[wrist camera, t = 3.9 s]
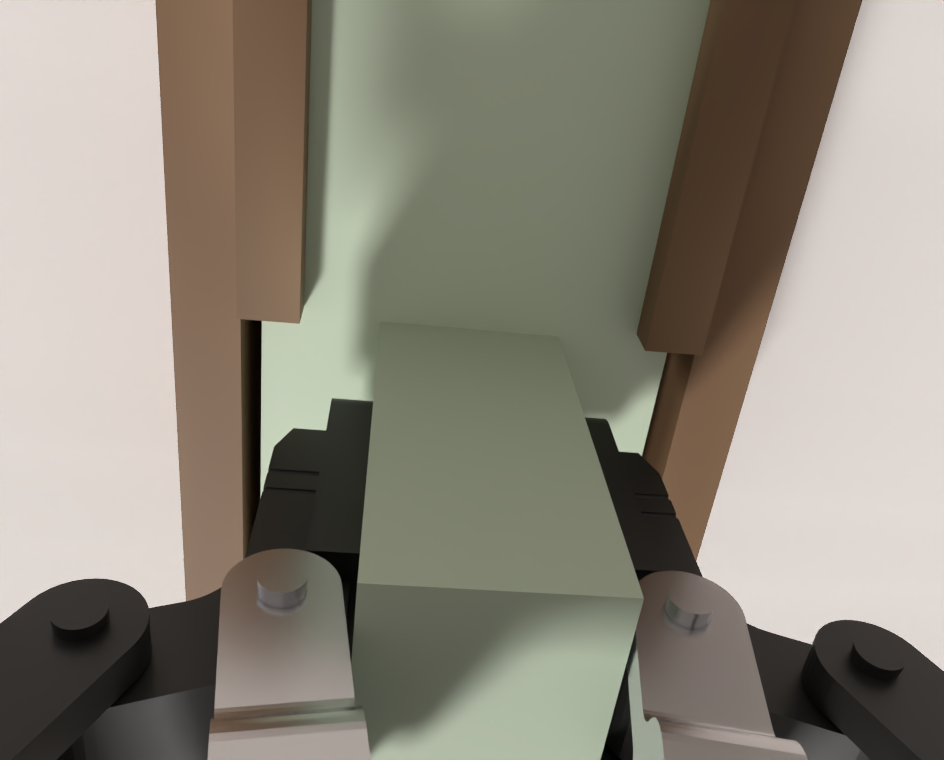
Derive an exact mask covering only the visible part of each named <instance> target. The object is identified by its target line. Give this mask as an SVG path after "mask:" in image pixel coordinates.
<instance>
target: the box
mask: <svg viewBox="0 0 944 760" xmlns="http://www.w3.org/2000/svg"><path fill="white" fill-rule="evenodd" d="M861 2H862V0H710V5H709V9H708V14H707V18H706V23H705V27H704V32H703V36H702V41H701V45H700V50H699V54H698V59H697V63H696V68H695V72H694V77H693V81H692V86H691V90H690V95H689V99H688V104H687V108H686V113H685V117H684V122H683V126H682V131H681V135H680V140H679V144H678V149H677V153H676V158H675V162H674V167H673V172H672V176H671V181H670V185H669V190H668V194H667V199H666V203H665V208H664V212H663V217H662V221H661V226H660V230H659V235H658V239H657V244H656V248H655V253H654V257H653V262H652V266H651V271H650V275H649V280H648V284H647V289H646V293H645V298H644V302H643V307H642V311H641V316H640V320H639V325H638V329H637V336H638V338H639V340H640V342H641V344H642V346H643V348H644V350H645V351H653V352H666V353H667V356H666V360H665V364H664V368H663V372H662V376H661V380H660V384H659V388H658V392H657V396H656V401H655V405H654V409H653V413H652V417H651V421H650V425H649V429H648V433H647V437H646V441H645V445H644V450H643V454H642V457H643V458H644V459H645V460H646V461H647V462H648V463H649V464H650V465H651V466H652V467H653V468H655V469H656V470H657V471H658V472H659V473H660V476H661V478H662V480H663V483H664V485H665V488H666V490H667V492H668V495H669V497H668V499H669V500H671V502H672V505H673V507H674V509H675V512H676V518H678V519H679V521H680V524H681V526H682V529H683V531H684V533H685V536H686V538H687V541H688V543H689V545H690V548H691V550H692V553H693V555H694V557H695V560H697V556H698V553H699V550H700V546H701V543H702V539H703V536H704V533H705V529H706V526H707V523H708V519H709V516H710V512H711V509H712V506H713V502H714V499H715V496H716V492H717V489H718V485H719V482H720V479H721V475H722V472H723V469H724V465H725V462H726V458H727V455H728V452H729V448H730V445H731V442H732V438H733V435H734V431H735V428H736V425H737V421H738V418H739V415H740V411H741V408H742V404H743V401H744V398H745V394H746V391H747V387H748V384H749V381H750V377H751V374H752V371H753V367H754V364H755V360H756V357H757V354H758V350H759V347H760V344H761V340H762V337H763V333H764V330H765V327H766V323H767V320H768V317H769V313H770V310H771V306H772V303H773V300H774V296H775V293H776V290H777V286H778V283H779V279H780V276H781V273H782V269H783V266H784V263H785V259H786V256H787V252H788V249H789V246H790V242H791V239H792V235H793V232H794V229H795V225H796V222H797V219H798V215H799V212H800V208H801V205H802V202H803V198H804V195H805V192H806V188H807V185H808V181H809V178H810V175H811V171H812V168H813V165H814V161H815V158H816V154H817V151H818V148H819V144H820V141H821V138H822V134H823V131H824V127H825V124H826V121H827V117H828V114H829V111H830V107H831V104H832V100H833V97H834V94H835V90H836V87H837V83H838V80H839V77H840V73H841V70H842V67H843V63H844V60H845V56H846V53H847V50H848V46H849V43H850V40H851V36H852V33H853V29H854V26H855V23H856V19H857V16H858V13H859V9H860V6H861ZM156 18H157V37H158V57H159V77H160V97H161V116H162V136H163V156H164V175H165V195H166V215H167V235H168V254H169V274H170V294H171V313H172V333H173V353H174V373H175V392H176V412H177V432H178V451H179V471H180V491H181V511H182V530H183V550H184V570H185V589H186V601H190V600H194V599H197V598H200V597H203V596H205V595H207V594H210V593H212V592H214V591H216V590H217V589H219V588H221V587H222V582H223V580H224V578H225V576H226V575H227V573H228V572H229V570H230V569H231V568H232V567H233V566H235V565H236V564H237V563H238V562H240V561H241V560H243V559H244V558H245V556H246V552H247V549H248V545H249V541H250V537H251V533H252V529H253V526H254V522H255V518H256V514H257V510H258V506H259V502H260V495H261V364H262V321H271V322H283V323H296V324H300V320H301V316H302V313H303V309H304V289H305V251H306V212H307V174H308V136H309V97H310V59H311V20H312V0H156Z"/></svg>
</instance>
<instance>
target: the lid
mask: <svg viewBox="0 0 944 760" xmlns="http://www.w3.org/2000/svg"><path fill="white" fill-rule="evenodd" d="M709 5H710V0H312V20H311V59H310V97H309V136H308V174H307V212H306V251H305V289H304V309H303V313H302V316H301V320H300V324H296V323H283V322H271V321H262V364H261V495H262V492H263V488H264V483H265V479H266V476H267V473H268V468H269V464H270V460H271V456H272V452H273V449H274V446H275V445H276V444H277V443H278V442H279V441H280V440H281V439H282V438H284V437H285V436H286V435H287V434H288V433H289V432H290V431H291V430H292V429H293V428H298V429H312V430H326V428H327V422H328V417H329V411H330V405H331V400H332V398H337V399H351V400H364V401H373V410H372V421H371V433H370V444H369V455H368V466H367V478H366V489H365V500H364V512H363V523H362V534H361V545H360V557H359V568H358V579H357V592H356V606H355V619H354V633H353V647H352V660H351V669H352V677H353V686H354V695H355V703H356V706H362V707H363V710H364V714H365V719H366V726H367V734H368V742H369V750H370V758H371V760H601V756H602V752H603V749H604V745H605V741H606V737H607V734H608V730H609V726H610V723H611V719H612V715H613V712H614V708H615V704H616V700H617V697H618V693H619V689H620V686H621V682H622V678H623V675H624V671H625V667H626V663H627V660H628V656H629V652H630V649H631V645H632V641H633V638H634V634H635V630H636V626H637V623H638V619H639V615H640V612H641V608H642V604H643V601H644V597H643V594H642V591H641V588H640V585H639V582H638V579H637V576H636V572H635V569H634V566H633V563H632V560H631V557H630V554H629V551H628V548H627V545H626V542H625V539H624V536H623V533H622V530H621V527H620V524H619V521H618V517H617V514H616V511H615V508H614V505H613V502H612V499H611V496H610V493H609V490H608V487H607V484H606V481H605V478H604V475H603V472H602V469H601V466H600V463H599V459H598V456H597V453H596V450H595V447H594V444H593V441H592V438H591V435H590V432H589V429H588V426H587V423H586V420H585V417H587V418H601V419H606V420H607V421H608V423H609V425H610V428H611V431H612V434H613V436H614V439H615V442H616V445H617V447H618V450H619V452H632V453H639V454H640V455H641V456H642V454H643V450H644V445H645V441H646V437H647V433H648V429H649V425H650V421H651V417H652V413H653V409H654V405H655V401H656V396H657V392H658V388H659V384H660V380H661V376H662V372H663V368H664V364H665V360H666V356H667V353H666V352H653V351H645V350H644V348H643V346H642V344H641V342H640V340H639V338H638V336H637V329H638V325H639V320H640V316H641V311H642V307H643V302H644V298H645V293H646V289H647V284H648V280H649V275H650V271H651V266H652V262H653V257H654V253H655V248H656V244H657V239H658V235H659V230H660V226H661V221H662V217H663V212H664V208H665V203H666V199H667V194H668V190H669V185H670V181H671V176H672V172H673V167H674V162H675V158H676V153H677V149H678V144H679V140H680V135H681V131H682V126H683V122H684V117H685V113H686V108H687V104H688V99H689V95H690V90H691V86H692V81H693V77H694V72H695V68H696V63H697V59H698V54H699V50H700V45H701V41H702V36H703V32H704V27H705V23H706V18H707V14H708V9H709ZM261 495H260V499H261Z"/></svg>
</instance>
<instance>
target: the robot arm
mask: <svg viewBox="0 0 944 760" xmlns="http://www.w3.org/2000/svg"><path fill="white" fill-rule="evenodd" d="M372 410H373V401H364V400H351V399H337V398H332V400H331V405H330V411H329V417H328V422H327V428H326V430H312V429H298V428H293V429H292V430H291V431H290V432H289V433H288V434H287V435H286V436H285V437H284V438H282V439H281V440H280V441H279V442H278V443H277V444H276V445H275V446H274V449H273V452H272V456H271V460H270V464H269V468H268V473H267V476H266V479H265V483H264V488H263V492H262V495H261V499H260V502H259V506H258V510H257V514H256V518H255V522H254V526H253V529H252V533H251V537H250V541H249V545H248V549H247V552H246V556H245V558H244V559H243V560H241V561H240V562H238V563H237V564H236V565H235V566H233V567H232V568H231V569H230V570H229V572H228V573H227V575H226V576H225V578H224V580H223V582H222V587H221V588H219V589H217V590H216V591H214V592H212V593H210V594H207V595H205V596H203V597H200V598H197V599H194V600H190V601H185V602H181V603H175V604H170V605H165V606H159V607H154V608H148V605H147V603H146V600H145V599H144V597H143V596H142V595H141V594H140V593H139V592H138V591H137V590H135V589H134V588H133V587H131V586H129V585H127V584H124V583H121V582H118V581H114V580H108V579H83V580H77V581H72V582H68V583H64V584H61V585H58V586H56V587H53V588H50V589H48V590H47V591H45V592H43V593H41V594H39V595H38V596H36V597H35V598H33V599H32V600H30V601H29V602H28V603H26V604H25V605H24V606H22V607H21V608H20V609H19V610H17V611H16V612H15V613H13V614H12V615H11V616H10V617H8V618H7V619H6V620H4V621H3V622H2V623H1V624H0V760H371V758H370V750H369V742H368V734H367V726H366V719H365V714H364V710H363V707H362V706H356V703H355V695H354V686H353V677H352V669H351V660H352V647H353V633H354V619H355V606H356V592H357V579H358V568H359V557H360V545H361V534H362V523H363V512H364V500H365V489H366V478H367V466H368V455H369V444H370V433H371V421H372ZM585 420H586V423H587V426H588V429H589V432H590V435H591V438H592V441H593V444H594V447H595V450H596V453H597V456H598V459H599V463H600V466H601V469H602V472H603V475H604V478H605V481H606V484H607V487H608V490H609V493H610V496H611V499H612V502H613V505H614V508H615V511H616V514H617V517H618V521H619V524H620V527H621V530H622V533H623V536H624V539H625V542H626V545H627V548H628V551H629V554H630V557H631V560H632V563H633V566H634V569H635V572H636V576H637V579H638V582H639V585H640V588H641V591H642V594H643V597H644V601H643V604H642V608H641V612H640V615H639V619H638V623H637V626H636V630H635V634H634V638H633V641H632V645H631V649H630V652H629V656H628V660H627V663H626V667H625V671H624V675H623V678H622V682H621V686H620V689H619V693H618V697H617V700H616V704H615V708H614V712H613V715H612V719H611V723H610V726H609V730H608V734H607V737H606V741H605V745H604V749H603V752H602V756H601V760H944V671H942V670H941V669H940V668H939V667H938V666H936V665H935V664H934V663H933V662H931V661H930V660H929V659H928V658H927V657H925V656H924V655H923V654H922V653H921V652H919V651H918V650H917V649H916V648H914V647H913V646H912V645H911V644H909V643H908V642H907V641H905V640H904V639H902V638H901V637H899V636H897V635H896V634H894V633H892V632H890V631H888V630H886V629H884V628H881V627H878V626H876V625H873V624H869V623H866V622H861V621H855V620H840V621H834V622H831V623H828V624H826V625H824V626H823V627H822V628H821V629H820V630H819V631H818V633H817V634H816V636H815V639H814V641H813V644H812V645H811V644H808V643H804V642H801V641H797V640H794V639H790V638H787V637H783V636H780V635H777V634H773V633H770V632H767V631H764V630H761V629H758V628H756V627H754V626H751V625H749V624H747V623H746V619H745V616H744V613H743V610H742V609H741V607H740V605H739V604H738V602H737V601H736V600H735V599H734V598H733V596H731V595H730V594H729V593H728V592H727V591H726V590H725V589H723V588H722V587H720V586H719V585H717V584H716V583H714V582H712V581H710V580H708V579H706V578H703V577H702V574H701V572H700V570H699V567H698V565H697V562H696V560H695V557H694V555H693V553H692V550H691V548H690V545H689V543H688V541H687V538H686V536H685V533H684V531H683V529H682V526H681V524H680V521H679V519H678V518H676V512H675V509H674V507H673V505H672V502H671V500H669V499H668V497H669V495H668V492H667V490H666V488H665V485H664V483H663V480H662V478H661V476H660V473H659V472H658V471H657V470H656V469H655V468H653V467H652V466H651V465H650V464H649V463H648V462H647V461H646V460H645V459H644V458H643V457H642V456H641V455H640V454H639V453H632V452H619V450H618V447H617V445H616V442H615V439H614V436H613V434H612V431H611V428H610V425H609V423H608V421H607V420H606V419H601V418H587V417H585Z"/></svg>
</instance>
